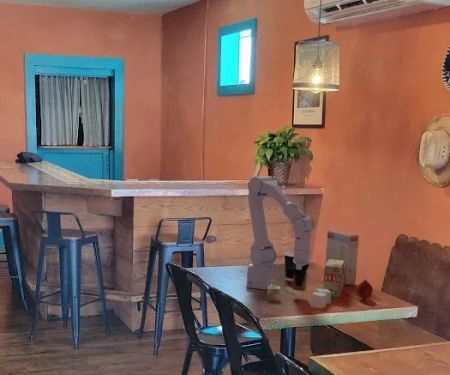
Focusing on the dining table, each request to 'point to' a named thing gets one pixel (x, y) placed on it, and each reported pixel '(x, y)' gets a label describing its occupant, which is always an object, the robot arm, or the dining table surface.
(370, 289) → the onion
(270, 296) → the maple block
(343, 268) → the stack of blocks
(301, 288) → the walnut bar
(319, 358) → the dining table surface
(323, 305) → the white block
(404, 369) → the dining table surface
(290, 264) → the dixie cup
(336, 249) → the cracker box
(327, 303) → the sage block
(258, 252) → the robot arm
